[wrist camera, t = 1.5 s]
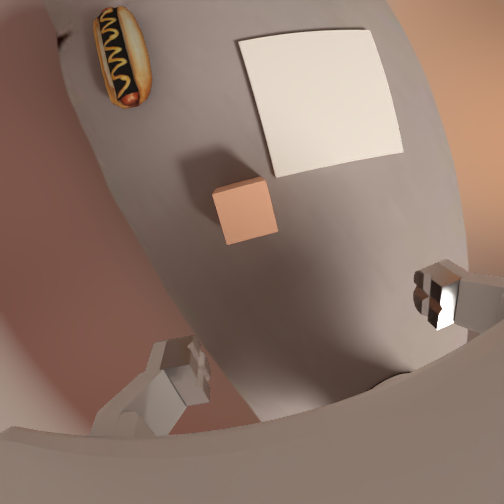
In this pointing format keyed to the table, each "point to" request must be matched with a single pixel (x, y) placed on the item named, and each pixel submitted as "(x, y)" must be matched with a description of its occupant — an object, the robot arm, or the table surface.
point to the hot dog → (122, 57)
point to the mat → (321, 98)
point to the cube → (245, 210)
